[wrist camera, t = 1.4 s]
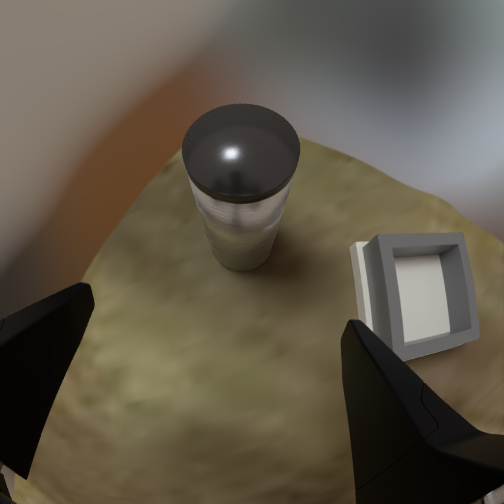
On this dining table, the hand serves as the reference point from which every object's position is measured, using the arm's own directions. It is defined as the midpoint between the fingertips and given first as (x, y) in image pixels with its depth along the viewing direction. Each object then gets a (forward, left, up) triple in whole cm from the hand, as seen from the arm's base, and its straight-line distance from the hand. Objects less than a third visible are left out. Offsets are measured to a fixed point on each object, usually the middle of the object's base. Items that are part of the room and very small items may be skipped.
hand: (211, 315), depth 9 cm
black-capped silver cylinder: (+7, -1, -13) cm, 15 cm away
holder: (+1, -15, -13) cm, 20 cm away
